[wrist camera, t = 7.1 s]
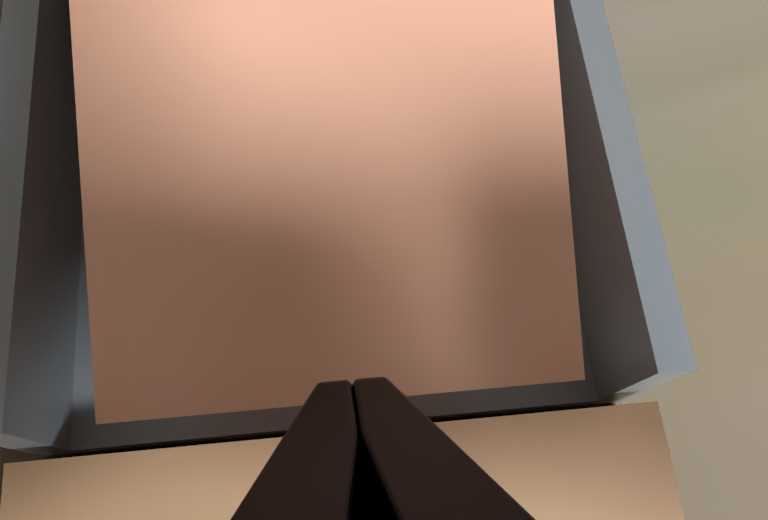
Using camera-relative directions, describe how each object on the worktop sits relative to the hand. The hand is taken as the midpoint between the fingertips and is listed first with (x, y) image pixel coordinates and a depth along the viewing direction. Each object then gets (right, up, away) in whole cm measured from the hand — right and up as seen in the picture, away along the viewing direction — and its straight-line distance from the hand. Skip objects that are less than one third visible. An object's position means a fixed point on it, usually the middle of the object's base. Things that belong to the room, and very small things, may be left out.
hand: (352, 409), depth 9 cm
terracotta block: (0, 0, +5) cm, 5 cm away
